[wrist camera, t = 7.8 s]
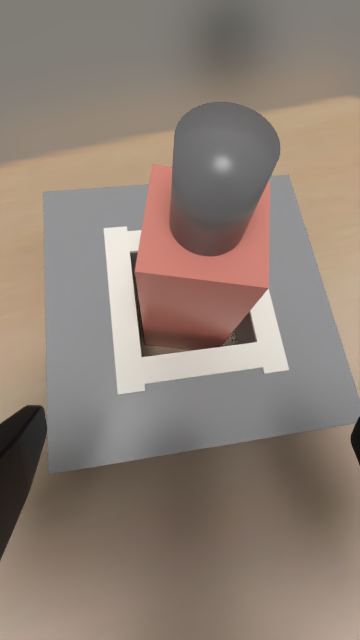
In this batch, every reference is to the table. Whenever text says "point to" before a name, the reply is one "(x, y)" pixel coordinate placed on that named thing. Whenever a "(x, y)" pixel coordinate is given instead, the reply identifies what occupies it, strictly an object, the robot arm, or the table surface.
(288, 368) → the socket plate
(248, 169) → the plug
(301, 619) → the table surface
